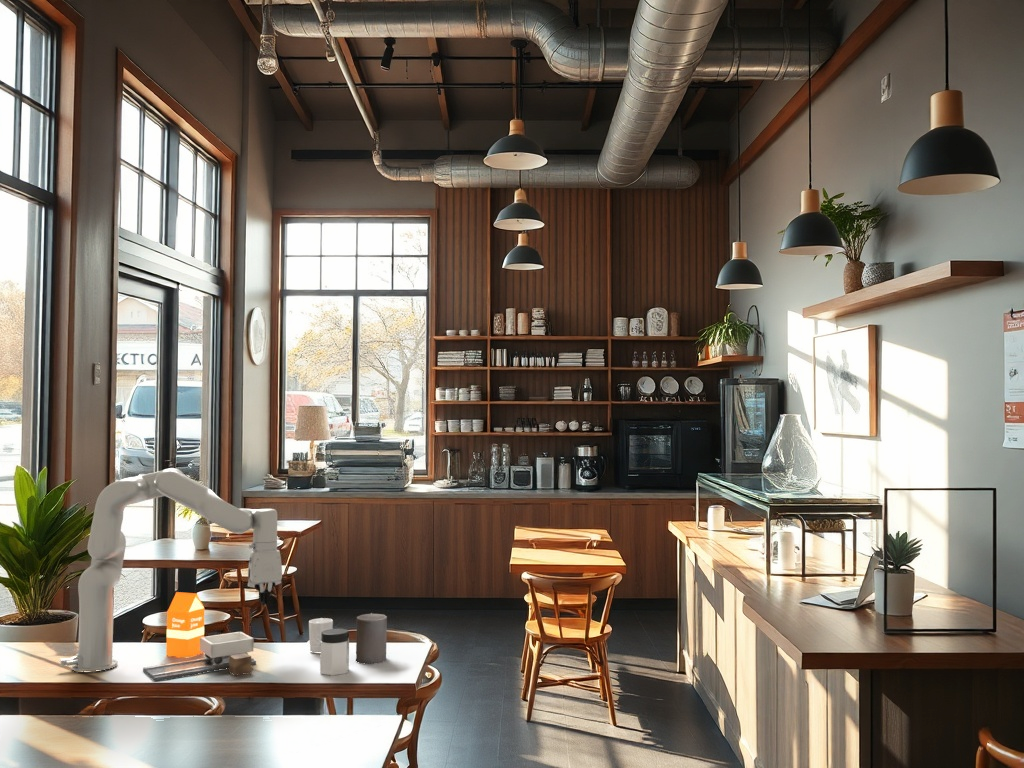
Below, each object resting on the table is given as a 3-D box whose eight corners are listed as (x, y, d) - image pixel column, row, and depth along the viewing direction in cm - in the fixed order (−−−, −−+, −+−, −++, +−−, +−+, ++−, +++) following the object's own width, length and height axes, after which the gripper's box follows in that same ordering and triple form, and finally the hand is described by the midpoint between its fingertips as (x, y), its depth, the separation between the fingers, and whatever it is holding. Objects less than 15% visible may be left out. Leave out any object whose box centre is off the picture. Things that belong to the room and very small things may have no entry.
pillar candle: (349, 661, 263) (350, 613, 264) (370, 654, 271) (371, 608, 272) (372, 666, 257) (372, 617, 258) (393, 659, 266) (393, 611, 266)
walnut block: (234, 676, 247) (234, 659, 248) (229, 672, 251) (229, 655, 252) (251, 673, 250) (251, 656, 251) (245, 669, 254) (245, 653, 255)
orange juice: (187, 658, 268) (188, 595, 269) (165, 656, 271) (167, 594, 272) (204, 652, 275) (205, 591, 276) (183, 650, 278) (184, 589, 280)
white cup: (319, 655, 271) (319, 624, 271) (303, 651, 275) (303, 621, 276) (337, 650, 277) (337, 620, 278) (322, 647, 282) (322, 617, 282)
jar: (345, 675, 247) (346, 634, 248) (318, 676, 247) (318, 635, 247) (350, 667, 256) (350, 628, 257) (324, 667, 255) (324, 628, 256)
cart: (211, 666, 253) (211, 644, 253) (199, 657, 262) (199, 637, 263) (253, 659, 260) (253, 638, 261) (240, 651, 270) (240, 631, 270)
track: (154, 681, 242) (154, 676, 242) (143, 671, 253) (143, 666, 253) (255, 664, 260) (255, 659, 260) (240, 655, 271) (240, 651, 271)
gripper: (246, 550, 263) (245, 608, 262) (291, 546, 272) (290, 602, 271) (238, 547, 269) (237, 605, 268) (282, 544, 278) (282, 599, 277)
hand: (264, 603), depth 270 cm, fingers closed
